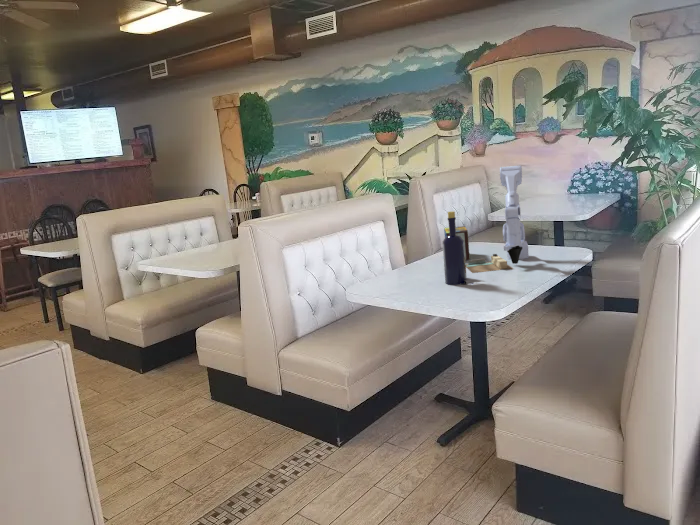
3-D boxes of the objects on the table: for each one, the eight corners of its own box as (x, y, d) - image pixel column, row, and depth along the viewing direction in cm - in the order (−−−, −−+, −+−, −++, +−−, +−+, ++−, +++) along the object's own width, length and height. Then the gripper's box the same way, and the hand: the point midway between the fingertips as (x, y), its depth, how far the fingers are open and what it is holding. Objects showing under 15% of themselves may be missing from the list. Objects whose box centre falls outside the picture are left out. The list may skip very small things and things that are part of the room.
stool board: (501, 262, 263) (501, 260, 262) (513, 271, 245) (513, 268, 245) (463, 267, 262) (463, 264, 262) (472, 275, 245) (472, 272, 245)
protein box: (466, 255, 286) (464, 225, 283) (470, 262, 271) (468, 230, 268) (446, 257, 287) (443, 227, 284) (448, 264, 272) (445, 232, 269)
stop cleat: (485, 262, 261) (484, 258, 261) (485, 263, 260) (485, 258, 260) (468, 264, 261) (467, 260, 261) (468, 264, 260) (468, 260, 260)
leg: (491, 262, 259) (491, 254, 258) (497, 261, 259) (497, 253, 258) (500, 268, 245) (500, 260, 244) (507, 268, 245) (506, 259, 244)
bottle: (467, 284, 232) (462, 212, 225) (444, 285, 234) (439, 214, 227) (467, 279, 240) (462, 209, 234) (445, 280, 242) (440, 211, 236)
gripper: (513, 230, 254) (515, 259, 257) (496, 235, 245) (498, 266, 247) (528, 230, 249) (529, 260, 252) (511, 236, 240) (512, 267, 242)
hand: (515, 263), depth 249 cm, fingers closed
